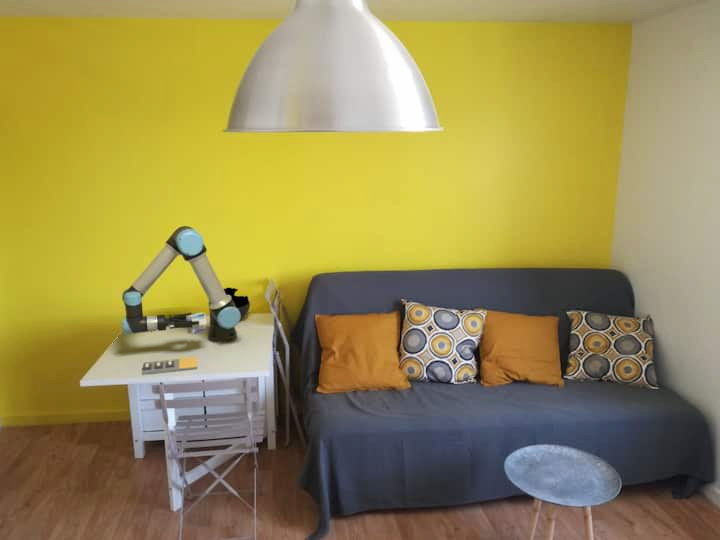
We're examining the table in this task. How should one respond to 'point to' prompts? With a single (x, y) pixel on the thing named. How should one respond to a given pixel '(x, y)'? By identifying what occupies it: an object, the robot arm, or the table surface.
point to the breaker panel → (169, 365)
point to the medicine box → (196, 328)
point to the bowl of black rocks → (239, 301)
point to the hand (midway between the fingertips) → (205, 318)
